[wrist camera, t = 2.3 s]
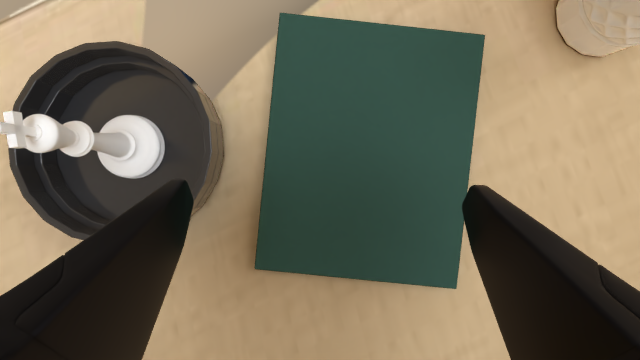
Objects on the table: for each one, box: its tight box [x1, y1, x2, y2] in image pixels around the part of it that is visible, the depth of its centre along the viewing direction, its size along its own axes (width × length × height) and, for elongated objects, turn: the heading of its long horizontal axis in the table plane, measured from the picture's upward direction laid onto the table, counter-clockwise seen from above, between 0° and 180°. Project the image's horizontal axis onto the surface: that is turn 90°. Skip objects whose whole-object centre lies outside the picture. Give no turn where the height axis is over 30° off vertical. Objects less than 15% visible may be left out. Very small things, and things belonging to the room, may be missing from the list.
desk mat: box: [255, 13, 485, 289], centre depth 24 cm, size 20×16×1 cm
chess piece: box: [0, 111, 165, 179], centre depth 18 cm, size 5×5×10 cm
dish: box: [8, 41, 224, 240], centre depth 22 cm, size 14×14×3 cm
